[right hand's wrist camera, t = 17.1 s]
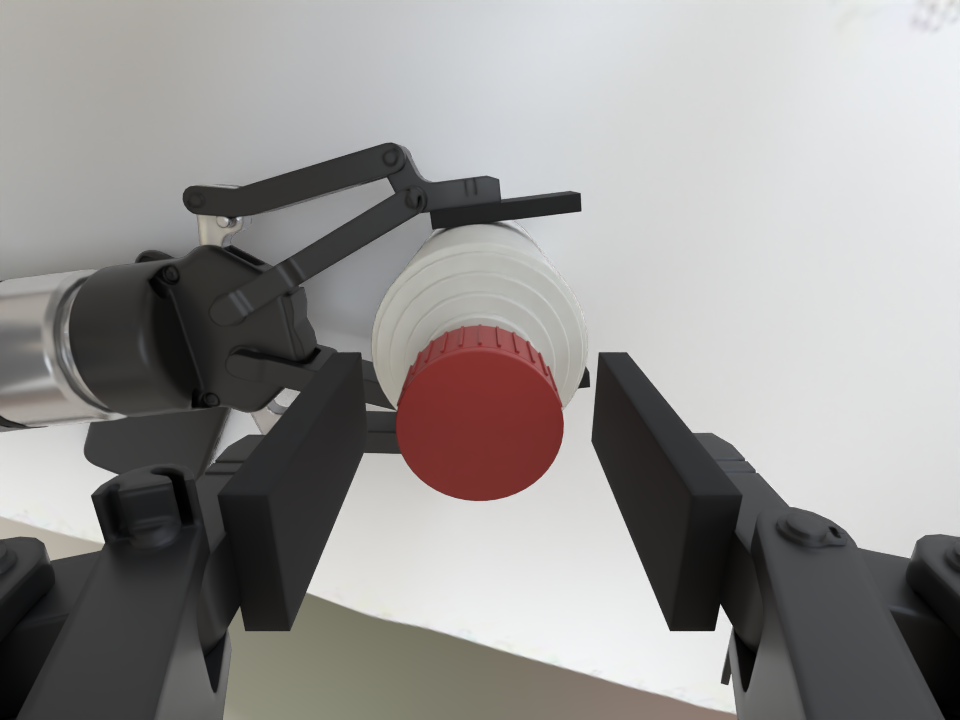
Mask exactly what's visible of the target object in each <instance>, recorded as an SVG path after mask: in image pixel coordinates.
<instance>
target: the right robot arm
mask: <svg viewBox="0 0 960 720" xmlns="http://www.w3.org/2000/svg"><path fill="white" fill-rule="evenodd" d="M368 441H369V440H368V428H367V417H366V405H365V393H364V381H363V369H362V357H361V352H333V353H332V355H331V356H330V357H329V358H328V359H327V361H326V362H325V363H324V364H323V366H322V367H321V368H320V369H319V371H318V372H317V373H316V374H315V375H314V377H313V378H312V379H311V380H310V382H309V383H308V384H307V385H306V387H305V388H304V389H303V390H302V391H301V393H300V394H299V395H298V396H297V398H296V399H295V400H294V401H293V402H292V404H291V405H290V406H289V407H288V409H287V410H286V411H285V412H284V414H283V415H282V416H281V417H280V418H279V420H278V421H277V422H276V423H275V425H274V426H273V427H272V428H271V430H270V431H269V432H268V433H267V434H266V435H247V436H245V437H244V438H242V439H240V440H239V441H237V442H235V443H234V444H232V445H230V446H228V447H227V448H226V450H225V451H224V452H223V453H222V454H221V455H220V456H219V457H218V458H217V459H216V460H215V461H216V462H215V463H213V464H212V465H211V466H210V467H209V468H208V469H207V470H206V471H205V475H202V476H201V477H200V478H199V479H198V480H197V481H196V482H195V479H194V474H193V471H192V470H191V469H189V468H188V467H186V466H185V465H179V464H173V463H169V464H154V465H150V466H146V467H141V468H137V469H134V470H131V471H128V472H126V473H123V474H121V475H118V476H116V477H114V478H113V479H111V480H109V481H108V482H106V483H104V484H103V485H101V486H100V487H99V488H98V489H97V490H96V491H95V492H94V493H93V494H92V495H91V498H92V501H93V504H94V507H95V511H96V514H97V517H98V520H99V524H100V527H101V530H102V533H103V537H104V540H105V544H104V546H103V548H102V550H101V551H97V552H93V553H87V554H82V555H78V556H73V557H68V558H63V559H58V560H53V561H50V559H49V556H48V553H47V550H46V548H45V545H44V543H43V542H41V541H39V540H38V539H37V538H31V537H15V538H8V539H1V540H0V720H223V713H224V705H225V697H226V690H227V682H228V674H229V666H230V658H231V651H232V649H231V642H230V636H229V632H228V626H229V625H230V623H231V621H232V619H233V617H234V616H235V614H236V612H237V610H238V608H239V606H240V608H241V612H242V617H243V622H244V627H245V631H290V630H291V627H292V625H293V622H294V620H295V617H296V615H297V613H298V610H299V608H300V606H301V603H302V601H303V598H304V596H305V593H306V591H307V589H308V586H309V584H310V581H311V579H312V577H313V574H314V572H315V569H316V567H317V564H318V562H319V560H320V557H321V555H322V552H323V550H324V548H325V545H326V543H327V540H328V538H329V535H330V533H331V531H332V528H333V526H334V523H335V521H336V519H337V516H338V514H339V511H340V509H341V507H342V504H343V502H344V499H345V497H346V494H347V492H348V490H349V487H350V485H351V482H352V480H353V478H354V475H355V473H356V470H357V468H358V465H359V463H360V461H361V458H362V456H363V453H364V451H365V449H366V446H367V444H368ZM591 441H592V444H593V446H594V449H595V451H596V453H597V456H598V458H599V461H600V463H601V465H602V468H603V470H604V473H605V475H606V478H607V480H608V482H609V485H610V487H611V490H612V492H613V494H614V497H615V499H616V502H617V504H618V507H619V509H620V511H621V514H622V516H623V519H624V521H625V523H626V526H627V528H628V531H629V533H630V535H631V538H632V540H633V543H634V545H635V548H636V550H637V552H638V555H639V557H640V560H641V562H642V564H643V567H644V569H645V572H646V574H647V577H648V579H649V581H650V584H651V586H652V589H653V591H654V593H655V596H656V598H657V601H658V603H659V606H660V608H661V610H662V613H663V615H664V618H665V620H666V622H667V625H668V627H669V630H670V631H715V627H716V622H717V617H718V612H719V608H720V604H721V606H722V607H723V609H724V611H725V613H726V615H727V616H728V618H729V620H730V622H731V624H732V625H733V627H732V632H731V636H730V641H729V645H728V650H727V654H726V659H725V663H724V668H723V672H722V679H721V683H722V684H725V685H728V684H729V680H730V675H731V673H732V680H733V688H734V696H735V704H736V711H737V719H738V720H960V537H955V536H949V535H942V534H938V535H925V536H924V537H922V538H921V539H919V540H918V541H917V542H916V545H915V548H914V550H913V553H912V556H911V559H910V558H905V557H900V556H895V555H890V554H885V553H880V552H875V551H870V550H865V549H861V548H858V547H857V545H856V543H855V542H854V540H853V539H852V538H851V537H850V535H849V534H848V533H847V532H846V531H845V530H844V529H842V528H841V527H840V526H838V525H837V524H835V523H834V522H832V521H831V520H829V519H827V518H824V517H822V516H820V515H818V514H816V513H813V512H810V511H806V510H802V509H799V508H795V507H789V506H788V505H787V504H786V503H785V502H784V500H783V499H782V498H781V497H780V496H779V495H778V494H777V493H776V492H775V491H774V490H773V489H772V487H771V486H770V485H769V484H768V483H767V482H766V481H765V480H764V479H763V478H762V477H761V476H760V474H759V473H756V472H755V469H754V468H753V467H752V466H751V465H750V464H749V463H748V461H745V458H744V457H743V456H742V455H741V454H740V453H739V452H738V451H737V450H736V448H735V447H734V446H733V445H732V444H730V443H728V442H726V441H725V440H723V439H721V438H719V437H718V436H716V435H714V434H713V433H692V432H691V431H690V430H689V428H688V427H687V426H686V425H685V423H684V422H683V421H682V420H681V418H680V417H679V416H678V415H677V414H676V412H675V411H674V410H673V409H672V407H671V406H670V405H669V404H668V402H667V401H666V400H665V399H664V398H663V396H662V395H661V394H660V393H659V391H658V390H657V389H656V388H655V387H654V385H653V384H652V383H651V382H650V380H649V379H648V378H647V377H646V375H645V374H644V373H643V372H642V371H641V369H640V368H639V367H638V366H637V364H636V363H635V362H634V361H633V359H632V358H631V357H630V356H629V355H628V353H627V352H599V357H598V369H597V381H596V393H595V405H594V417H593V428H592V440H591Z"/></svg>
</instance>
